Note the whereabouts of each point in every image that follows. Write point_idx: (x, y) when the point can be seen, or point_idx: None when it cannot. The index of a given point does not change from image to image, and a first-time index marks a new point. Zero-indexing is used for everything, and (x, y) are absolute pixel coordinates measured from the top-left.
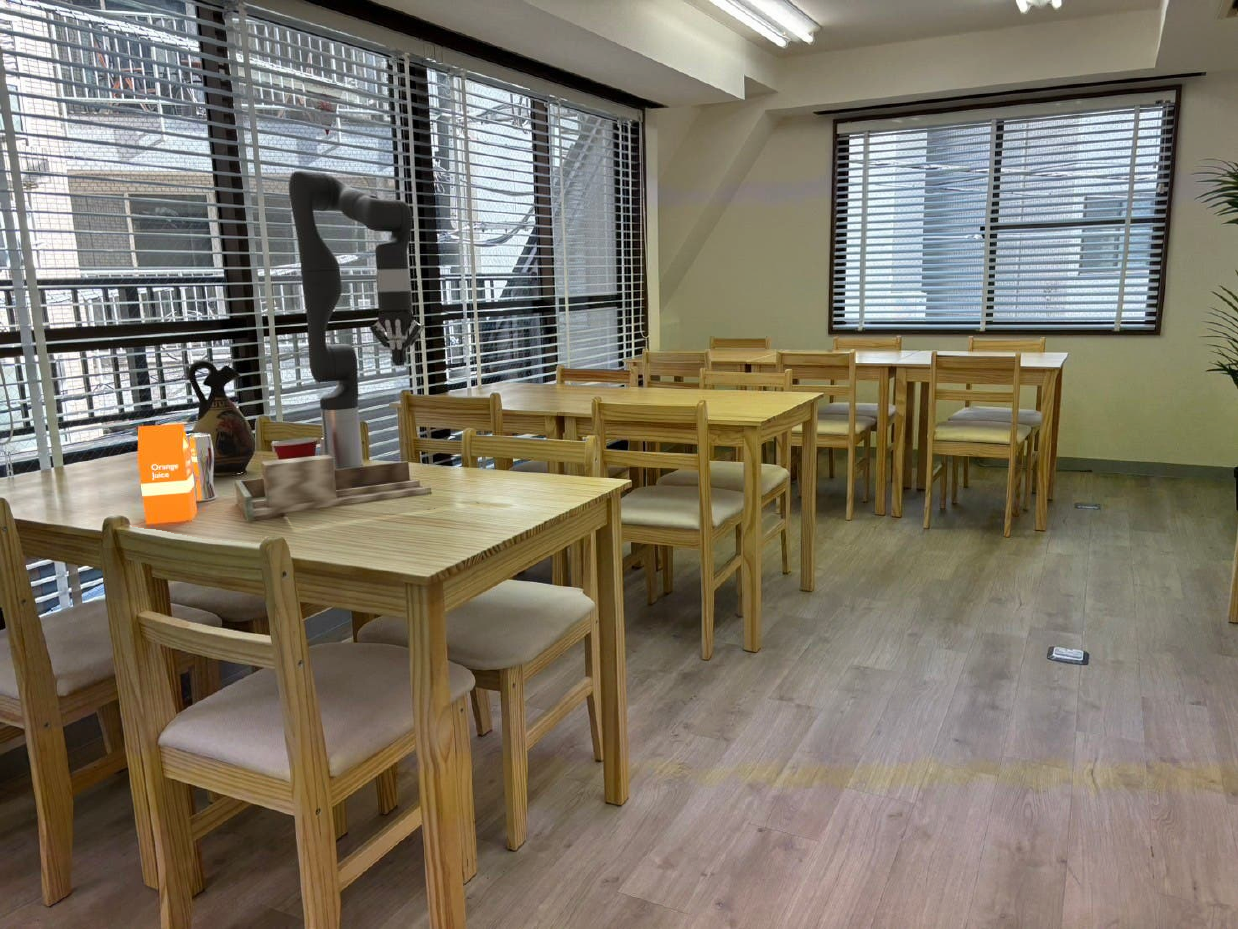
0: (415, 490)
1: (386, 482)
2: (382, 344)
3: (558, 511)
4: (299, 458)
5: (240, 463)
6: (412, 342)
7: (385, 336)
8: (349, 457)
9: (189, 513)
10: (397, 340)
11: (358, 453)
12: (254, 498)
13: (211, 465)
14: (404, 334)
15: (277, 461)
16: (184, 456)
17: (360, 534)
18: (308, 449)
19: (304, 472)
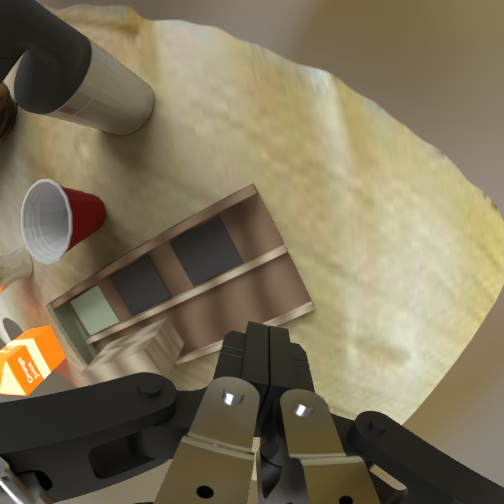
0: (291, 319)
1: (222, 224)
2: (124, 438)
3: (440, 377)
4: (115, 368)
5: (5, 125)
6: (391, 441)
7: (89, 447)
8: (125, 121)
9: (61, 360)
10: (263, 498)
11: (136, 103)
12: (75, 302)
13: (6, 278)
14: (338, 500)
15: (98, 380)
16: (28, 390)
17: (255, 440)
18: (74, 239)
19: None
